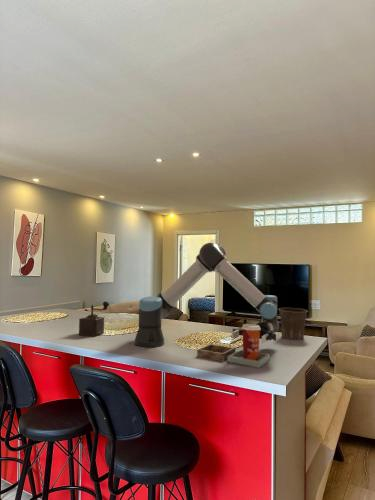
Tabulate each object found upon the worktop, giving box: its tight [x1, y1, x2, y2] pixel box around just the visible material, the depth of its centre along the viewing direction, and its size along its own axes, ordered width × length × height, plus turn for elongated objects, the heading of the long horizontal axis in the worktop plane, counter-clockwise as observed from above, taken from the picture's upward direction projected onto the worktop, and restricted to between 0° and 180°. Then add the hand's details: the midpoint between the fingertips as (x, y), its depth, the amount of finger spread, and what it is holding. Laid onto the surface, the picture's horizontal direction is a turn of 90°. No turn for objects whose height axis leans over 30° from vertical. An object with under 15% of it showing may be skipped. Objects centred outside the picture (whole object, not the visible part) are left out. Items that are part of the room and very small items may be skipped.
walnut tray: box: [196, 343, 236, 362], centre depth 156 cm, size 13×13×3 cm
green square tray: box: [227, 349, 271, 369], centre depth 148 cm, size 14×14×2 cm
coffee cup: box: [241, 323, 261, 361], centre depth 148 cm, size 8×8×15 cm
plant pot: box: [278, 307, 309, 341], centre depth 198 cm, size 16×16×16 cm
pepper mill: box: [78, 301, 110, 338], centre depth 197 cm, size 16×11×18 cm
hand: (247, 337), depth 146 cm, fingers open, 13 cm apart
